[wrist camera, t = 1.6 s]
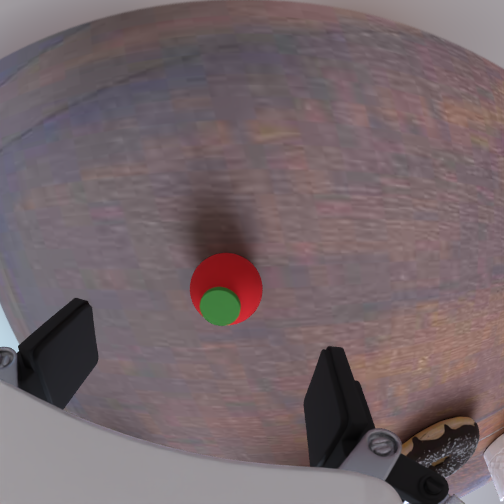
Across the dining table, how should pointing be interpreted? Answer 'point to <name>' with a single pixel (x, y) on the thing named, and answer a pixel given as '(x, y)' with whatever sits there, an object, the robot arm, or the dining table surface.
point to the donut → (444, 445)
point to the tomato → (226, 289)
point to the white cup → (496, 464)
